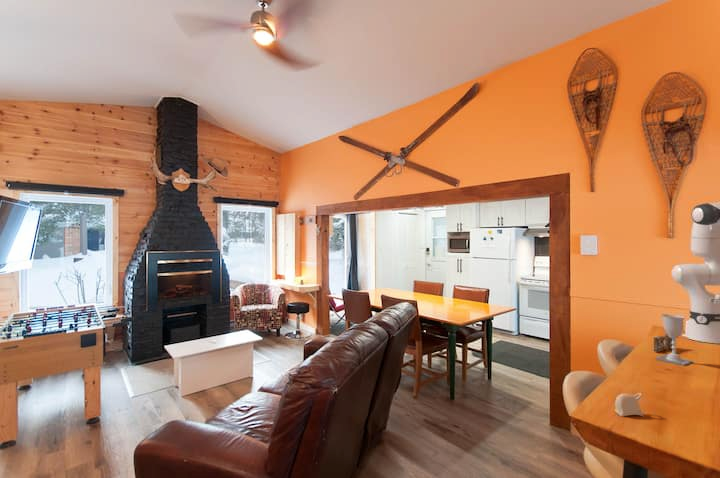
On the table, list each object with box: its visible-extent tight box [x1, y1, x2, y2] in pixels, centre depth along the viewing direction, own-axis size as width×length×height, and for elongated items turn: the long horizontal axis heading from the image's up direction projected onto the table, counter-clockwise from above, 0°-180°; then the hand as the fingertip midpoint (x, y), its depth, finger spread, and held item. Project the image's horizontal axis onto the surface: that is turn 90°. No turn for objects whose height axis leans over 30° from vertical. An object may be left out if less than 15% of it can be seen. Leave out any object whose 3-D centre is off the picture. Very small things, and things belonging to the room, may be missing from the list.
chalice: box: [661, 314, 686, 361], centre depth 142 cm, size 7×7×18 cm
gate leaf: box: [653, 333, 671, 353], centre depth 156 cm, size 14×2×6 cm, turn 119°
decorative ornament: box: [614, 392, 645, 418], centre depth 97 cm, size 4×8×5 cm, turn 91°
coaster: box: [655, 354, 694, 367], centre depth 142 cm, size 9×9×1 cm
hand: (712, 301), depth 145 cm, fingers closed
